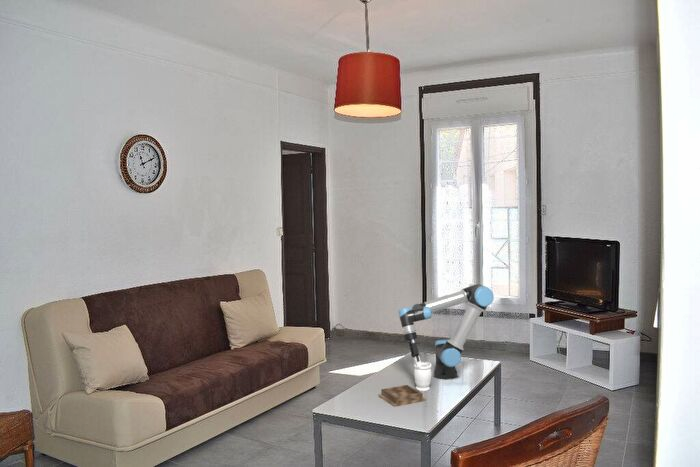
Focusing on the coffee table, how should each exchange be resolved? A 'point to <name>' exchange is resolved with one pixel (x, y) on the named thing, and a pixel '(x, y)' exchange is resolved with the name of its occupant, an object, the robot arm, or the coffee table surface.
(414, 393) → the holder
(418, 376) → the jar
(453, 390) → the coffee table surface
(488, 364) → the coffee table surface
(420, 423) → the coffee table surface
